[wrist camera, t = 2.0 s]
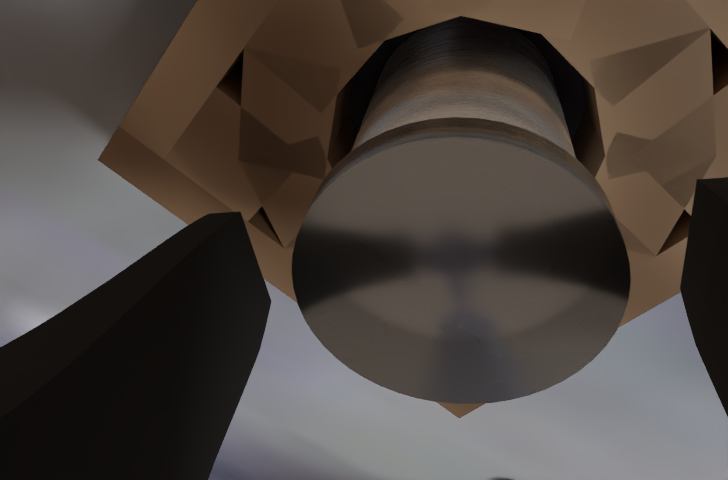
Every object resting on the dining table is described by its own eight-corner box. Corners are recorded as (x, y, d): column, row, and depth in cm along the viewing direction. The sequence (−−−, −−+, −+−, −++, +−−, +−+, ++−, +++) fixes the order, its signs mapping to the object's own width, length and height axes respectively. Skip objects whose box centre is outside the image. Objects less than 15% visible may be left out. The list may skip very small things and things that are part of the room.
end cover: (462, 229, 17) (453, 440, 11) (323, 112, 15) (232, 286, 10) (615, 106, 14) (707, 302, 8) (463, -47, 13) (451, 61, 7)
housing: (461, 355, 19) (459, 418, 17) (145, 117, 16) (97, 159, 14) (854, 102, 13) (922, 154, 11) (466, -376, 10) (463, -426, 8)
